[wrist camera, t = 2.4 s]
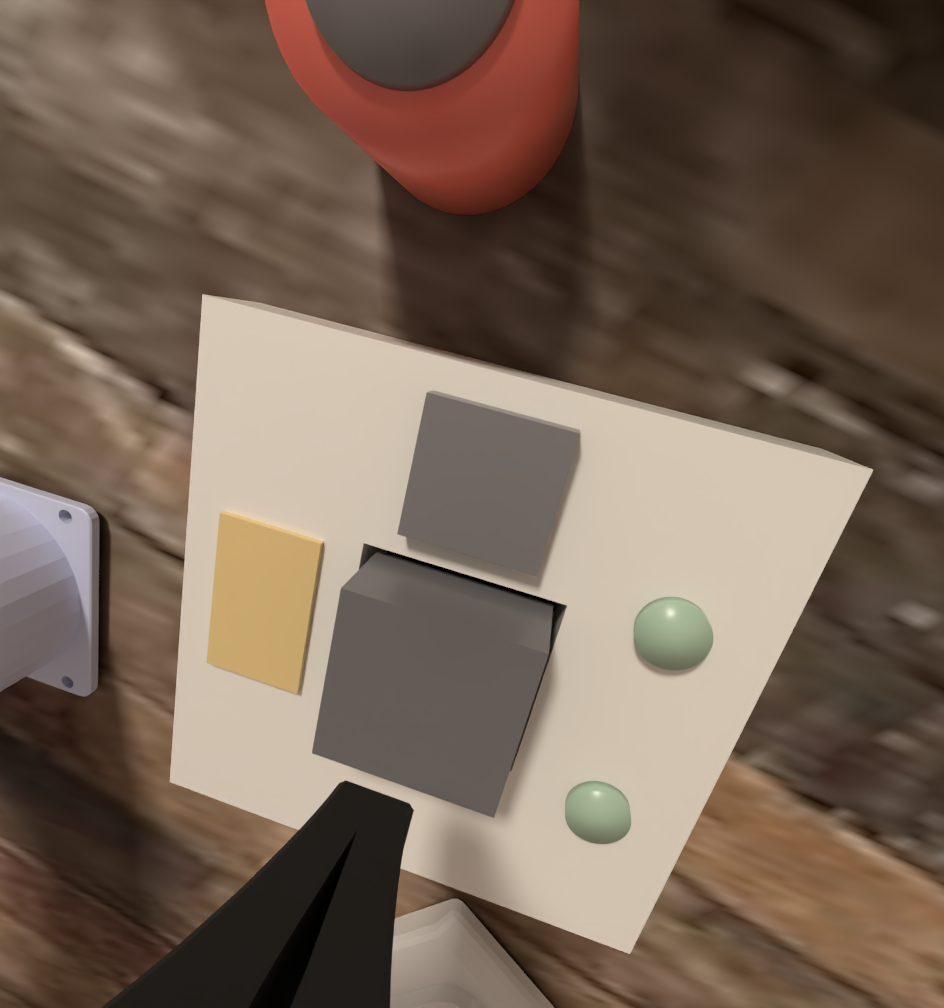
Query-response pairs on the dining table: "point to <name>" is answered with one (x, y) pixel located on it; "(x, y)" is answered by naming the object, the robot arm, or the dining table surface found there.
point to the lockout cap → (442, 88)
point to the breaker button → (431, 680)
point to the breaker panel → (498, 559)
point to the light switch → (454, 963)
